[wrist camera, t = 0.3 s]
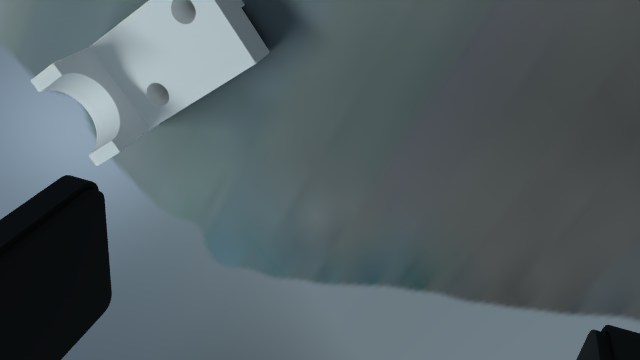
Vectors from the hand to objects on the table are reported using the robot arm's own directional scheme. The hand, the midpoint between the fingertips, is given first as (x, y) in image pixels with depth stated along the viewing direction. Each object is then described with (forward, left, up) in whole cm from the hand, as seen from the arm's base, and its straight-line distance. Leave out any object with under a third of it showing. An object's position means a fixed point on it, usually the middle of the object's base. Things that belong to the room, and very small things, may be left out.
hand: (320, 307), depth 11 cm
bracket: (+5, -20, -31) cm, 37 cm away
